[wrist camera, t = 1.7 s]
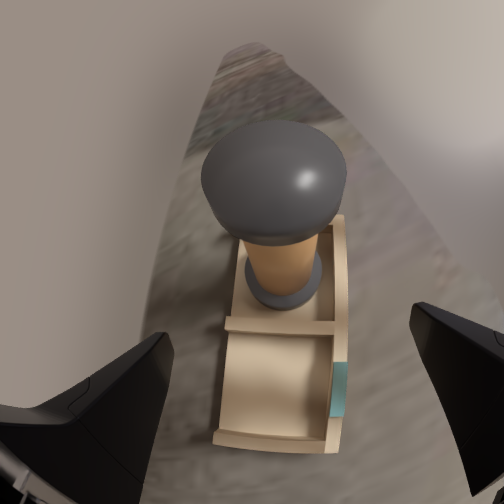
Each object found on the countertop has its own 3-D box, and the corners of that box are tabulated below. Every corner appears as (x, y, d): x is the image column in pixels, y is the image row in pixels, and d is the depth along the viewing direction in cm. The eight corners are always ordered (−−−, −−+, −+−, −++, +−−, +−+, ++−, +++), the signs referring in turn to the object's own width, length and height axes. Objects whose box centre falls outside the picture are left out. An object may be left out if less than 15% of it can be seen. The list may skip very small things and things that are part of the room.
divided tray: (333, 444, 17) (338, 454, 14) (220, 436, 18) (211, 445, 16) (339, 229, 25) (344, 212, 22) (243, 227, 26) (238, 210, 23)
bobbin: (319, 312, 21) (354, 229, 9) (243, 308, 22) (187, 227, 10) (319, 243, 23) (337, 121, 11) (250, 241, 24) (214, 123, 12)
